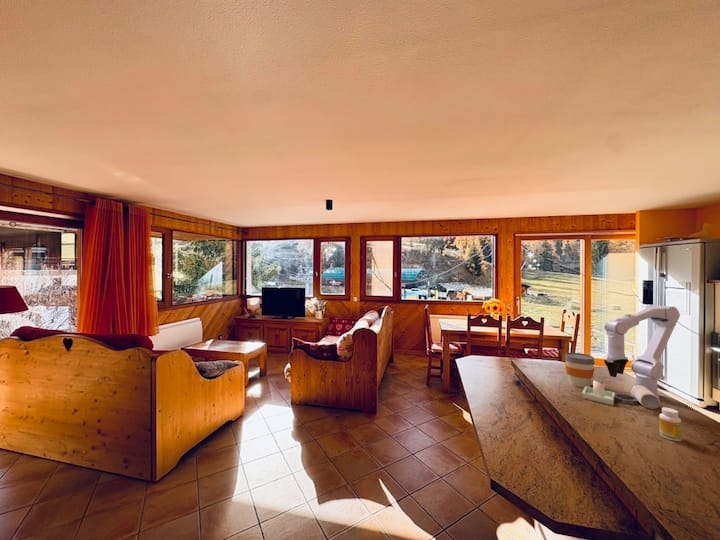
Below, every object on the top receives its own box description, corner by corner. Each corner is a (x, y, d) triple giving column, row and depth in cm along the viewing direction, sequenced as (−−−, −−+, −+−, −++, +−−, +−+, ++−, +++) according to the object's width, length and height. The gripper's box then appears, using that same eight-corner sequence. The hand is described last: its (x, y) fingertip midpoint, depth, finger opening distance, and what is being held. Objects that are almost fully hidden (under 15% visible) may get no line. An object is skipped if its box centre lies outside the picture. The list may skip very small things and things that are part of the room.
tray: (585, 391, 143) (585, 386, 143) (615, 397, 135) (614, 392, 135) (581, 398, 135) (581, 392, 135) (613, 405, 127) (613, 400, 127)
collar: (613, 394, 138) (613, 391, 138) (638, 400, 132) (637, 396, 132) (612, 400, 132) (612, 397, 132) (637, 406, 126) (637, 402, 126)
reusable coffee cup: (592, 382, 153) (592, 354, 153) (596, 391, 142) (596, 360, 142) (564, 378, 160) (563, 351, 160) (565, 385, 149) (565, 356, 149)
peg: (591, 395, 136) (590, 378, 136) (598, 394, 137) (598, 378, 137) (599, 399, 132) (598, 382, 132) (606, 398, 133) (606, 381, 133)
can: (663, 407, 122) (651, 396, 133) (656, 392, 123) (644, 382, 134) (644, 410, 125) (634, 399, 135) (637, 395, 126) (627, 385, 136)
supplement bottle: (678, 443, 99) (677, 415, 99) (656, 435, 104) (656, 408, 104) (684, 438, 102) (683, 411, 102) (662, 431, 107) (662, 405, 107)
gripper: (620, 350, 129) (621, 380, 128) (633, 346, 136) (633, 374, 136) (601, 346, 135) (601, 375, 135) (614, 342, 142) (614, 370, 142)
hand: (616, 375), depth 136 cm, fingers open, 7 cm apart
